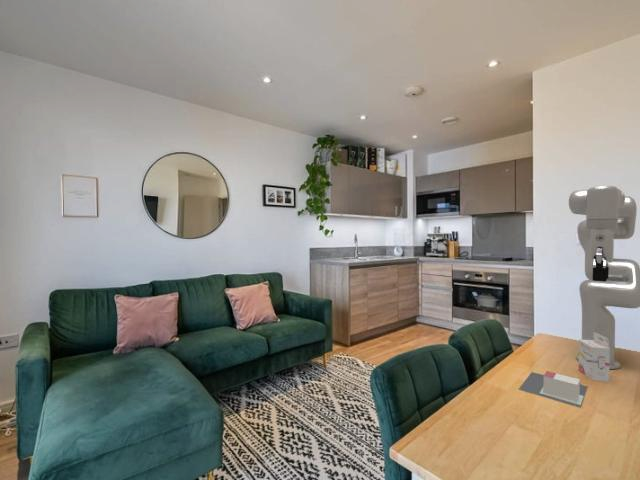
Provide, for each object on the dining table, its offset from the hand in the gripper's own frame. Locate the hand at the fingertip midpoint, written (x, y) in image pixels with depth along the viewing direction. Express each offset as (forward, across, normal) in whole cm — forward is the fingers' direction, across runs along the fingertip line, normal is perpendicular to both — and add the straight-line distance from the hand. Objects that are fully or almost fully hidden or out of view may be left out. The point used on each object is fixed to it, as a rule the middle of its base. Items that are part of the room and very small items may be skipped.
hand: (600, 279), depth 101 cm
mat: (+34, -12, +10) cm, 38 cm away
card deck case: (+34, -16, +8) cm, 38 cm away
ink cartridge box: (+34, +8, +2) cm, 35 cm away
